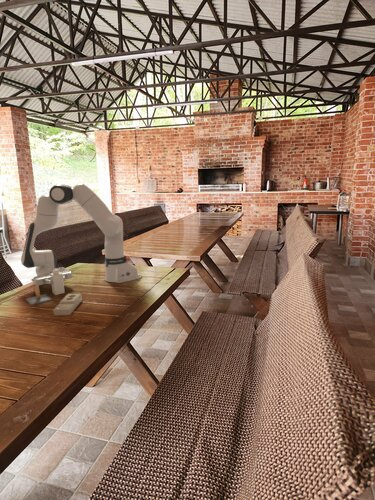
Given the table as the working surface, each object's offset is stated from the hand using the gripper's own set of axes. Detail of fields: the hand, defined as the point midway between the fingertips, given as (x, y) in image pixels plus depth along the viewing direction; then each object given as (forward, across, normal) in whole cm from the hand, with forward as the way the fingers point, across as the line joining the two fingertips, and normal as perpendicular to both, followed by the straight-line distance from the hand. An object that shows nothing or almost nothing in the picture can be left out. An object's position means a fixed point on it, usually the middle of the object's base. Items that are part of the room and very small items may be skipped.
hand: (57, 281), depth 171 cm
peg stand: (+3, -12, +7) cm, 14 cm away
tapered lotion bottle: (-1, 0, +7) cm, 7 cm away
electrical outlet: (+23, -3, +8) cm, 25 cm away
